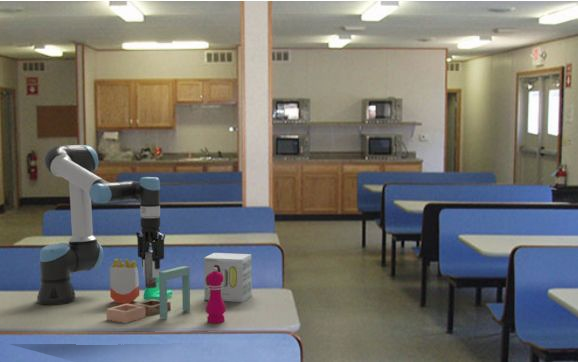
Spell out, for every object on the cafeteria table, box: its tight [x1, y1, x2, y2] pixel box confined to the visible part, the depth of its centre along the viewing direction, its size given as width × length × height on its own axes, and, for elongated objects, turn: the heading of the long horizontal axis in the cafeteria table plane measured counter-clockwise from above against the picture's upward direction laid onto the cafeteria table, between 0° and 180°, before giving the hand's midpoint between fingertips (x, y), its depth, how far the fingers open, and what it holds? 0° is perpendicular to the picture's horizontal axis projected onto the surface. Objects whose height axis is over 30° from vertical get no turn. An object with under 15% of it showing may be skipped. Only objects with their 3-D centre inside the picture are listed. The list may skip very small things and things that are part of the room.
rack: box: [106, 303, 147, 324], centre depth 252 cm, size 10×10×4 cm
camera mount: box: [143, 277, 173, 301], centre depth 283 cm, size 12×8×10 cm, turn 164°
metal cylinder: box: [144, 249, 157, 288], centre depth 263 cm, size 4×4×14 cm
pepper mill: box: [205, 267, 227, 324], centre depth 247 cm, size 7×7×20 cm
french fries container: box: [109, 258, 140, 304], centre depth 278 cm, size 5×11×18 cm, turn 82°
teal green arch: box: [158, 265, 191, 320], centre depth 256 cm, size 3×14×17 cm, turn 146°
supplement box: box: [203, 252, 253, 303], centre depth 283 cm, size 17×13×18 cm
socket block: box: [133, 299, 172, 316], centre depth 263 cm, size 10×10×3 cm
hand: (151, 276), depth 263 cm, fingers closed on metal cylinder, 4 cm apart
